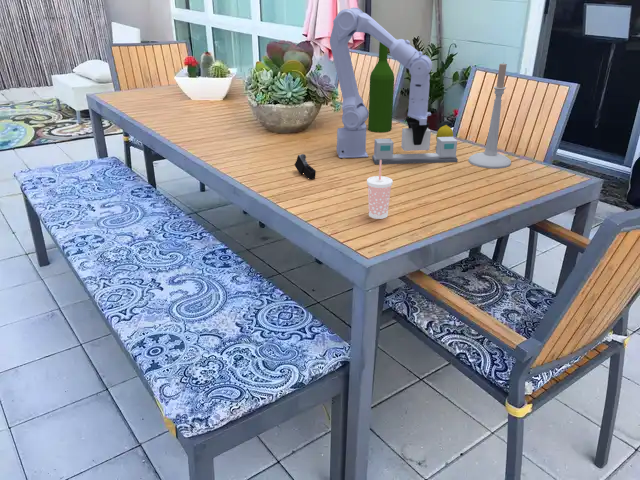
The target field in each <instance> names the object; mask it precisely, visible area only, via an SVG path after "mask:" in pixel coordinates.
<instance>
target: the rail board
mask: <svg viewBox="0 0 640 480" xmlns="http://www.w3.org/2000/svg"><path fill="white" fill-rule="evenodd" d="M394 144H395V143H394V141H393V140H392V139H391V138H374V148H373V154H372V155H371V156H372V157H371V158H372V161H373V163H374V165H380V160H382V165H399V164H400V165H401V164H402V165H403V164H406V165H407V164H433V163H434V164H435V163H436V164H437V163H458V158H457V149H458V148H457V147H458V140H457V139H456V138H455V137H454V136H453V137H437V140H436V145H435V152H433V153H432V152H430V153H426V152H425V153H397V154H396V153H395V154H394Z"/></svg>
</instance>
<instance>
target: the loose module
mask: <svg viewBox="0 0 640 480" xmlns="http://www.w3.org/2000/svg"><path fill="white" fill-rule="evenodd" d="M431 133H432V130H431V129H430V128H429V127H428V128H427V130H426V131H425V134H424V137H423V140H422V143H421V145H414V142H413V131H412V128H407V127H406V128H405V127H404V128H402V129H401V146H400V147H401V149H402V150H403V151H404V152H406V151H408V152H409V151H410V152H411V151H430V146H431V136H432V135H431Z"/></svg>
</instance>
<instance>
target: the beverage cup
mask: <svg viewBox="0 0 640 480" xmlns="http://www.w3.org/2000/svg"><path fill="white" fill-rule="evenodd" d="M378 165H379V169H378V170H379V171H378V175H375V176H374V175H373V176H370V177H368V178H367V179H366V185H367V192H368V194H367V195H368V196H367V197H368V217H369V218H372V219H375V220H376V219H378V220H380V219H381V220H382V219H386V218H387V217H388V215H389V207H390V198H391V190H392V186H393V182H394V181H393V179H392V178H390V177H388V176H383V175H382V165H383V164H382V160H380V164H378Z"/></svg>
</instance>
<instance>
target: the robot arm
mask: <svg viewBox="0 0 640 480" xmlns="http://www.w3.org/2000/svg"><path fill="white" fill-rule="evenodd" d="M332 22H333V26H332V29H331V34H330V38H329V44H330V50H331V54H332V58H333V63H334V66H335V72H336V76H337V78H338V83H339V87H340V91H341V92H340V93H341V95H342V105H341V110H342V116H341V120H342V121H341V122H342V124H343V127H338V128H337V131H336V153H337V155H338V158H339V159H350V158H353V159H356V158H357V159H358V158H368V157H369V154H368V152H367V151H366V150H367V149H366V148H367V124H366V121H367V120H368V119H369V109H368V108H367V106H366V105H365V104H364V101H363V98H362V96H360V93H359V89H358V84H357V79H356V76H355V71H354V67H353V63H352V57H351V52H350V50H349V45H348V44H349V42H350V40H351V39H352V37H353V35H354V34H355V33H363V34H364V33H365V34H368V35H369V36H370V37H373V38H374V39H375V40H377V42H379V43H380V42H381V43H382V44H384V45H385V46H386V47H388V49H389V50H388V51H389V54H390V56H391V58H393V59H394V60H395V61H397V62H398V63H399V64H401V66H403V67H404V68H406V69H407V70H408V72H409V74H410V83H409V97H408V111H407V116H406V117H405V121H406V123H407V127H408V128H412V131H413V142H414V145H421V143H422V140H423V137H424V134H425V131H426V130H427V128H428V129H429V127H430V123H429V122H427V121H428V117H429V116H432V113H431V111H428V107H429V99H430V97H429V96H430V84H431V83H430V80H431V74H430V73H431V71H432V68H433V62H432V60H431V58H430V57H429V55H426V54H423V51H421V50H420V51H419V50H417V48H415V47H413V45H411V41H410V40H409V39H406V40H405V39H404V38H399V39H397V38H396V37H394V36H393V35H392V34H391V33H390V32H389V31H387V30H386V29H385V28H384V27H383V26H382V25H381V24H379V22H378V21H376V20H375V19H374V18H373V17H371V16H370V15H369V14H368V13H366V12H363V10H362V9H361V8H359V7H351V8H344V9H342V10H340V11H338V13H337V15H336V16H335V17H334V19H333V21H332Z"/></svg>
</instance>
